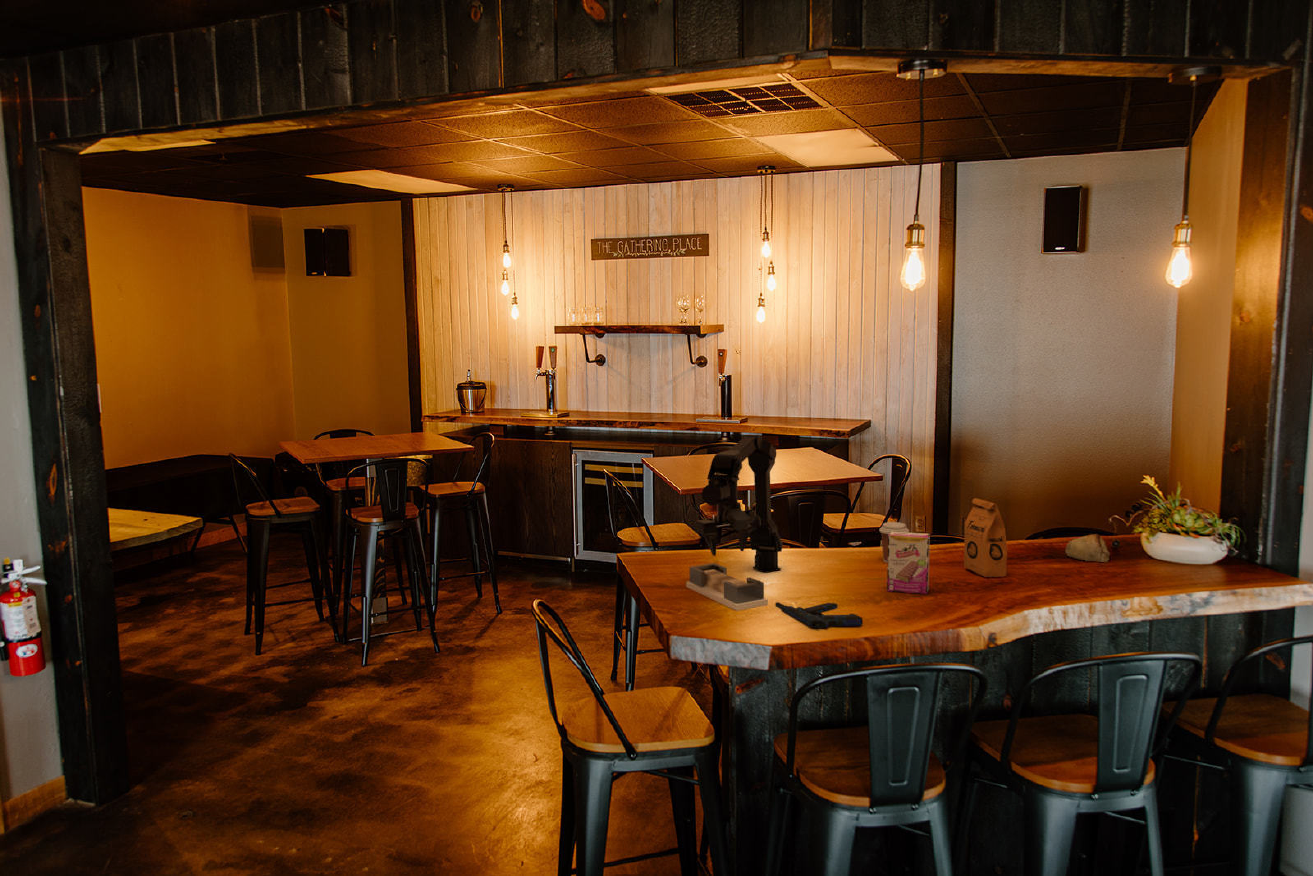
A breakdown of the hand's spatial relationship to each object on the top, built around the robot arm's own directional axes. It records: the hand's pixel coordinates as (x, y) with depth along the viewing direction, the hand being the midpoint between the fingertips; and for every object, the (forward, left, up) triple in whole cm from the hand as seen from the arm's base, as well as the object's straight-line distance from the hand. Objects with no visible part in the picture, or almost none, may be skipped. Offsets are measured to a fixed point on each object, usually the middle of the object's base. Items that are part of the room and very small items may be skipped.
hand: (728, 553), depth 246 cm
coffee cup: (-64, -3, -12) cm, 65 cm away
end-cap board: (+2, +1, -12) cm, 12 cm away
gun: (-9, +29, -12) cm, 33 cm away
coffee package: (-77, +22, -12) cm, 81 cm away
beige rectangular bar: (+2, +2, -10) cm, 10 cm away
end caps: (+2, +1, -10) cm, 10 cm away
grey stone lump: (-119, +26, -12) cm, 122 cm away
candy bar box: (-44, +24, -12) cm, 52 cm away
